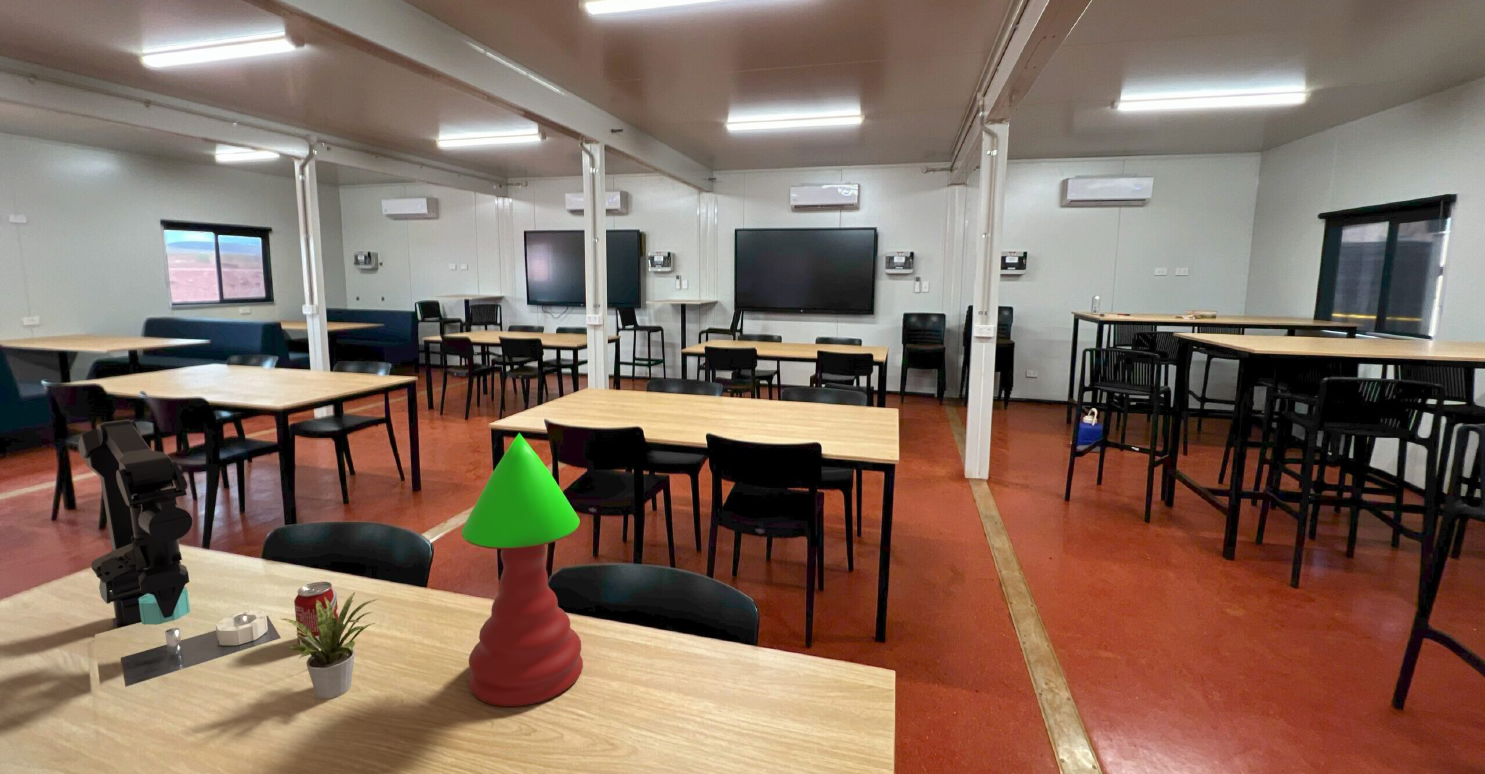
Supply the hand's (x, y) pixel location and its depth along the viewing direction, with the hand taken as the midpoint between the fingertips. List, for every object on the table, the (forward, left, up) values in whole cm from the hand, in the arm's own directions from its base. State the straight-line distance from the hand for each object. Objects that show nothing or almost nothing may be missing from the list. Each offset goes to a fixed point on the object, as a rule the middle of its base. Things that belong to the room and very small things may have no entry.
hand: (166, 610), depth 118 cm
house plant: (+30, +19, -11) cm, 37 cm away
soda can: (+12, +20, -11) cm, 26 cm away
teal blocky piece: (0, 0, -1) cm, 1 cm away
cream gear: (0, +10, -9) cm, 14 cm away
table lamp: (+48, +44, -11) cm, 66 cm away
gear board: (0, +4, -10) cm, 11 cm away
